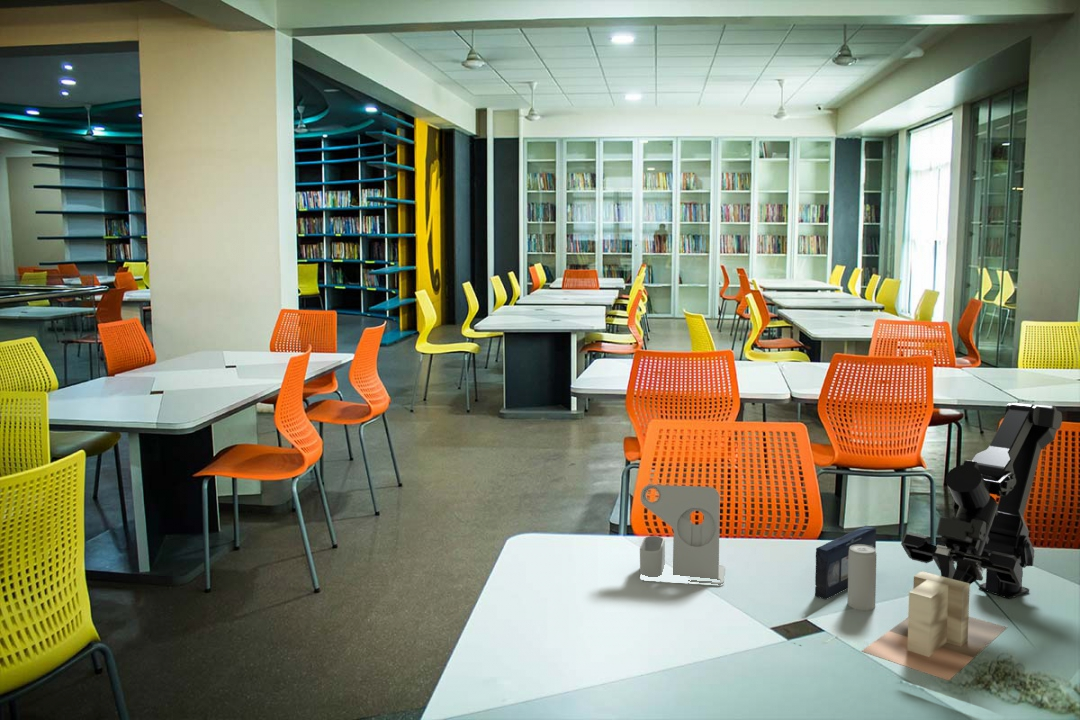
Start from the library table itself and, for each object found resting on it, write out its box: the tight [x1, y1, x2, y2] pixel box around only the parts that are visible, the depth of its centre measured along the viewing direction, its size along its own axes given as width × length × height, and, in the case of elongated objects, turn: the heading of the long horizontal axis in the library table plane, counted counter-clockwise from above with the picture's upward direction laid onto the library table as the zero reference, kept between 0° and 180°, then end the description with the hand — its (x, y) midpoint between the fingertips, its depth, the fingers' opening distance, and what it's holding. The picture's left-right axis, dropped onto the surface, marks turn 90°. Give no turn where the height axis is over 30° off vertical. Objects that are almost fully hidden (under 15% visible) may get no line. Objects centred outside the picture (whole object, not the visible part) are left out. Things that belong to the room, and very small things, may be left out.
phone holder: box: [639, 484, 726, 585], centre depth 180 cm, size 17×10×18 cm, turn 76°
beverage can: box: [847, 544, 877, 611], centre depth 161 cm, size 5×5×12 cm
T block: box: [907, 570, 971, 657], centre depth 145 cm, size 10×8×10 cm
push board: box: [861, 616, 1008, 681], centre depth 147 cm, size 25×14×1 cm, turn 134°
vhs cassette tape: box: [814, 525, 877, 600], centre depth 173 cm, size 18×3×10 cm, turn 129°
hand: (945, 600), depth 148 cm, fingers closed
